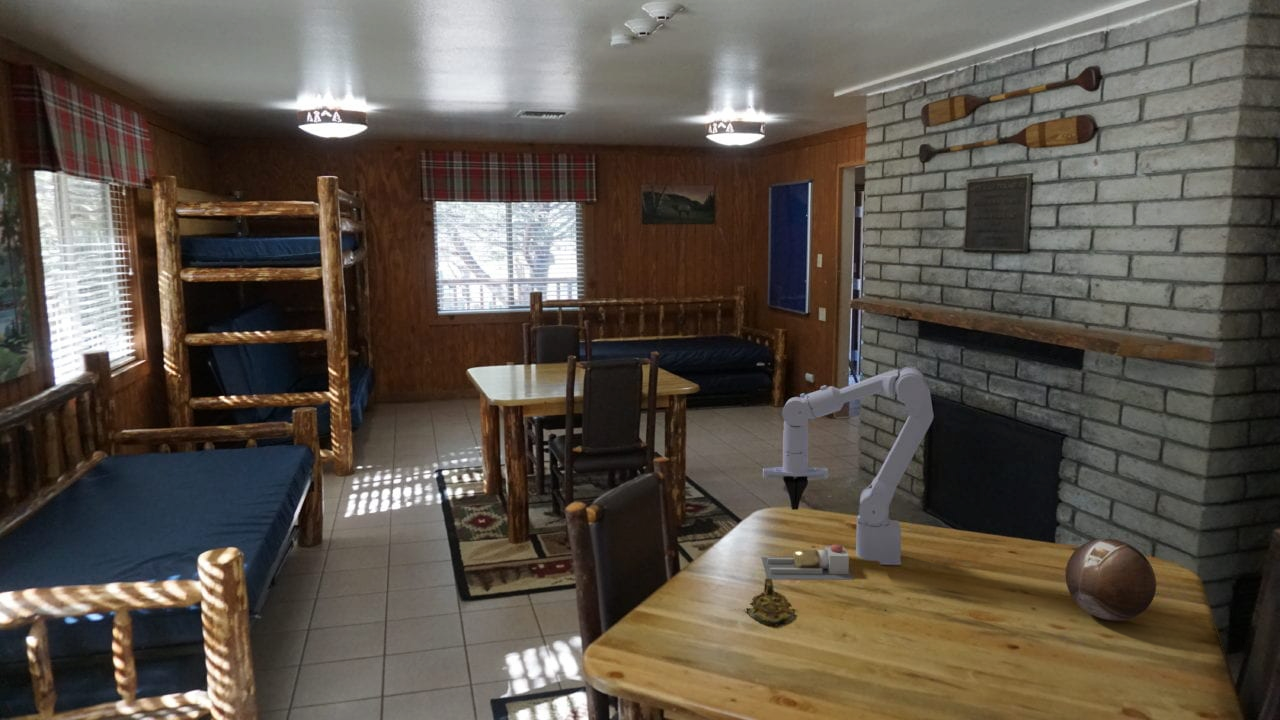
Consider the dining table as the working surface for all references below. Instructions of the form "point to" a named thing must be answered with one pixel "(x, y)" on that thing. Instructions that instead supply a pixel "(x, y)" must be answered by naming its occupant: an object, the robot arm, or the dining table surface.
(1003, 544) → the dining table surface
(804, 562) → the brass fitting
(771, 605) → the seal
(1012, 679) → the dining table surface
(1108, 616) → the wooden sphere
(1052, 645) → the dining table surface
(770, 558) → the valve board
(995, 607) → the dining table surface
